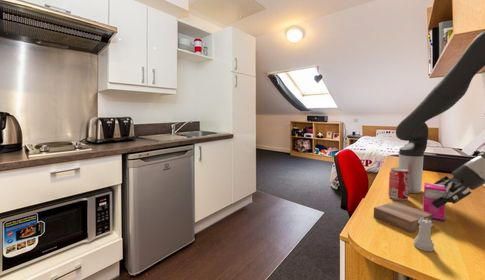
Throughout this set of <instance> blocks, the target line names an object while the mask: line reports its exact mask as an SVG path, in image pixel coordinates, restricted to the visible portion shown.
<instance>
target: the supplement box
mask: <svg viewBox="0 0 485 280" xmlns="http://www.w3.org/2000/svg"><path fill="white" fill-rule="evenodd" d="M423 185H424V186H423V194H424V196H423V202H422V211H424V212H427V213H430V214H433V217H432V220H435V221H440V222H445V215H446V214H445V213H446V204H444V205H442V206H441V207H439V208H436V207H435V206H434V205H433V204H432V202H433V201H435V200H436V199H438V198H440V197H442V196H443V195H444V193H445V192H446V188H445V185H440V184H434V183H430V182H424V184H423ZM442 198H443V197H442Z"/></svg>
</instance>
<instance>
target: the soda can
mask: <svg viewBox="0 0 485 280" xmlns="http://www.w3.org/2000/svg"><path fill="white" fill-rule="evenodd" d="M408 171H409V170H408V169H404V168H398V167H391V168H390V170H389V175H388V176H389V178H388V197H389V198H390V199H392V200H395V201H401V202H402V201H407V200H408V199H409V194H410V193H409V177H410V174H409V172H408Z"/></svg>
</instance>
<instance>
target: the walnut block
mask: <svg viewBox="0 0 485 280" xmlns="http://www.w3.org/2000/svg"><path fill="white" fill-rule="evenodd" d="M432 217H433V214H430V213H427V212H424V211H423V209H422V210H421V209H419V208H415V207H412V206H409V205H406V204H404V203H401V202H398V201H392V202H390V203H385V204H381V205H378V206H374V207H373V218H375V219H377V220H380V221H381V222H384V223H387V224H388V223H389V224H388V225H391V226H393V227H395V226H396V228H399V229H400V230H403V231H405V232H408V233H410V234H411V233H413V232H416V231H419V226H420V224H419V223H418V221H419V220H420V218H424V220H426V218H427V219H428V221H429V220H431V221H432V222H433V219H432Z"/></svg>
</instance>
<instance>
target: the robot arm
mask: <svg viewBox="0 0 485 280" xmlns="http://www.w3.org/2000/svg"><path fill="white" fill-rule="evenodd" d="M484 67H485V30H484V31H483V32H480V33H479V34H478V35H477V36H475V37H474V39H473V40H471V43H470V44H469V45H468V47H467V48H466V49H465V51H464V52H463V53H462V55H461V56H460V57H459V59H458V60H457V61H456V63H455V64H454V65H453V66H452V67H451V68H450V70H449V71H448V72H447V73H446V74H445V75H444V76H443V78H442V79H440V81H439V82H438V83H437V84H435V86H434V87H433V88H432V89H431V90H430V92H429V93H428V94H427V96H426V97H424V99H423V100H422V101H421V102H420V103H419V104H418V105H417V106H416V107H415V109H414V110H413V111H411V112H410V113H409V114H408V115H407V116H406V117H405V118H403V119H402V121H400V122H399V124H398V125H397V127H396V129H395V135H396V138H397V139H399V140H400V141H407V142H408V143H407V144H406V145H404V146H402V147H400V148H399V151H398V166H397V168H404V169H408V170H409V171H408V172H409V174H410V177H409V194H421V192H422V186H423V183H422V182H423V173H424V172H423V168H424V156H425V155H424V154H425V152H426V150H427V147H428V146H427V145H428V140H429V126H428V124H427V123H426V122H427V121H430V120H431V119H433V118H436V117H437V116H439V115H441V114H443V113H445V112H447V111H449V110H450V109H451V108H453V106H455V105H456V104H457V103H458V102H459V101H460V100H461V99H462V98H463V97H464V96H465V94H466V93H467V91H468V89H469V87H470V84H471V83H472V80H473V79H474V77H475V76H476V75H477V74H478V73H479V72H480V70H482V69H483V68H484ZM451 175H452V176H453V177H451V178H450V177H448V176H447V175H446V176H444V177H442V178H440V179H439V180H436V181H435V182H433V184H440V185H445V188H446V192H445V193H444V195H443V196H442V197H443V198H442V197H440V198H438V199H436V200H435V201H433V202H432V204H433V205H434V206H435V207H436V208H439V207H441V206H442V205H444V204H445V205H446V204H450V203H452V204H453V205H454V204H457V203H458V202H460V201H462V200H463V199H465V198H466V197H468V196H469V195H471V194H472V191H475V190H476V189H478V188H480V187H482V186H483V185H485V151H484V152H483V153H481V154H480V155H477V156H476V157H474V158H471V159H470V160H469V161H467V162H465V163H464V164H462V165H461V166H459V167H457V168H456V169H454V170H453V171H452V172H451ZM422 195H423V197H424V193H423V194H422Z"/></svg>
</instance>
